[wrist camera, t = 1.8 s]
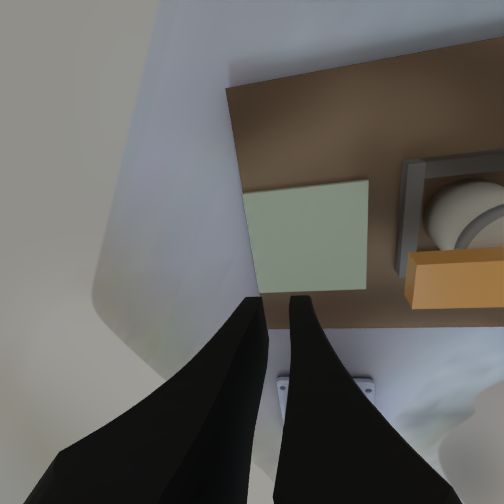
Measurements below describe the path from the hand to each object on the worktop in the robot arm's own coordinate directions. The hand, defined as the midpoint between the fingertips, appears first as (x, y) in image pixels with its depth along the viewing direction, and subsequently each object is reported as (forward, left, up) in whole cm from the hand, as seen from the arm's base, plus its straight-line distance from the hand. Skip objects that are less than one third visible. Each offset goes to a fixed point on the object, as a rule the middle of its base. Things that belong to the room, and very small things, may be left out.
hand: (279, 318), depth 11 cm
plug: (0, -10, -8) cm, 13 cm away
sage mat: (-1, -1, -8) cm, 9 cm away
